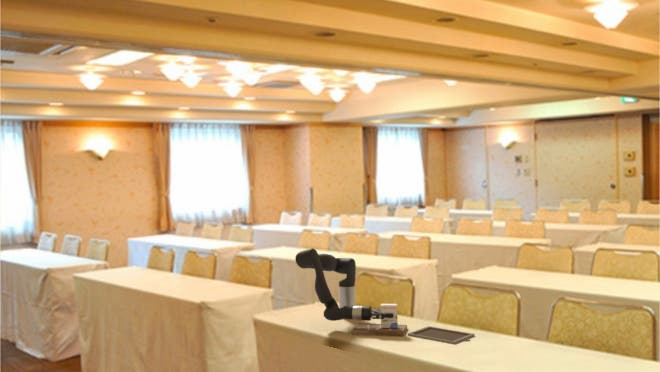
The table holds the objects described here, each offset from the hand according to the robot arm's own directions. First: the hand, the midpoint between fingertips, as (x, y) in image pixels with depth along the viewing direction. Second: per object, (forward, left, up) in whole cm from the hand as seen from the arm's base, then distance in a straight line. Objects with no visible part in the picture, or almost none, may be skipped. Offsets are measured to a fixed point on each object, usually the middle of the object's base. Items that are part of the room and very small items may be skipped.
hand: (394, 314), depth 340 cm
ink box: (0, -3, -7) cm, 7 cm away
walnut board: (0, -8, -9) cm, 12 cm away
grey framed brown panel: (+4, +25, -10) cm, 27 cm away
